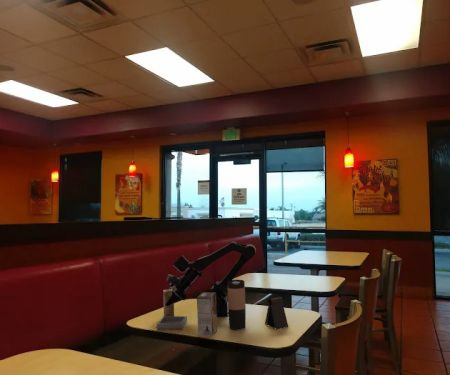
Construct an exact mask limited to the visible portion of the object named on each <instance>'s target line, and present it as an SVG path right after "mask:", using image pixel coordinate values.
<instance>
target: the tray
mask: <svg viewBox="0 0 450 375" xmlns="http://www.w3.org/2000/svg"><path fill="white" fill-rule="evenodd" d="M187 322H188V316H186V315H185V316H183V315H182V316H181V315H178V316H177V315H174V316H164V315H163V316H162V318H160V320H159V321H158V322H157V324H156V330H160V331H161V330H162V331H163V330H164V331H165V330H170V331H171V330H173V331H176V330H178V331H179V330H180V331H182V330H183V329H184V328H185V326H186V324H187Z"/></svg>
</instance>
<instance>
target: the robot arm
mask: <svg viewBox="0 0 450 375" xmlns="http://www.w3.org/2000/svg"><path fill="white" fill-rule="evenodd" d="M231 252H236V253H239V254H240V256H239V258H238V259H237V260H236V262H235V263H234V264H233V266H232V267H231V268H230V270H229V271H228V272H227V273H226V275H225V276H224V277H223V279H222V280H220V281H218V280H216V282H215V284H214V285H213V286H212V287H211V288H210V292H216V305H217V318H229V315H228V294H227V293H226V291H227V290H226V289H228V281H230V280H234V279H235V277H236V276H237V274H238V273H239V272H240V271H241V269H242V268H243V267H244V266H245V265H246V263H247V262H249V261H250V260H251V259H252V258H253V257H254V256H255V255H256V253H257V249H256V247H255V245H254V244H251V243H250V244H243V243H239V242H236V241H231V242H229V244H227V245H225V246H223V247H221V248H220V249H217V250H216V251H214V252H212V253H211V254H207V255H205V256H202V257H199V258H198V259H196V260H192V261H189V260H188V259H187V258H186V256H184V255H183V254H182V255H180V257H178V258H177V259H176V260H175V262H173V264H172V266H173V268H175V269H176V270H177V271H179V273H184V274H183V275H182V276H179V277H177V275H175V274H173V275H172V274H169V273H168V274H167V277H166V279H165V281H166V282H167V283H169V289H172V290H173V291H172V296H171V297H170V299H169V300H168V302H167V303H166V306H169V305H171V304H173V303H174V304H176V303H177V302H180V301H182V300H183V301H185V300H186V299H187V297H188V296H187V293H186V291H187V289H188V288H191V287H192V283H194V282H195V281H196V279H198V278H200V279H202V277H203V276H202V275H203V272H202V271H203V270H205V269H206V268H208V266H210V265H211V264H212V263H214V262H215V261H217V260H219V259H221V258H222V257H224V256H226V255H227V254H230V253H231Z"/></svg>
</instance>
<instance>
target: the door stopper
mask: <svg viewBox="0 0 450 375" xmlns="http://www.w3.org/2000/svg"><path fill="white" fill-rule="evenodd" d="M267 304H268V305H267V311H266V316H265V321H264V324H265V326H268V325H269V327H270V326H271V328H273V329H275V328H276V329H275V330H280V328H281V329H285V328H288V327H289V323H288V320H287V316H286V311H285V307H284V299H283V297H282V296H278V297H273V298H272V297H271V298H268V300H267ZM284 327H285V328H284Z"/></svg>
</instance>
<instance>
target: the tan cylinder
mask: <svg viewBox="0 0 450 375" xmlns="http://www.w3.org/2000/svg"><path fill="white" fill-rule="evenodd" d="M172 291H173V290H172V289H170V288H169V289H163V290H162V292H163V293H162V294H163V316H175V303H173V304H171V305H169V306H166V303H167V302H168V300H169V299H170V297H171V296H172Z"/></svg>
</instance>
